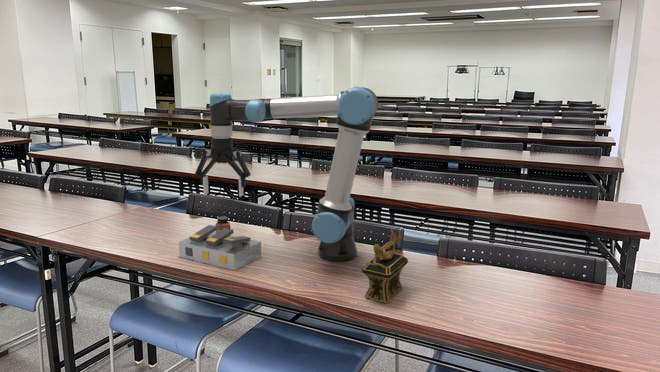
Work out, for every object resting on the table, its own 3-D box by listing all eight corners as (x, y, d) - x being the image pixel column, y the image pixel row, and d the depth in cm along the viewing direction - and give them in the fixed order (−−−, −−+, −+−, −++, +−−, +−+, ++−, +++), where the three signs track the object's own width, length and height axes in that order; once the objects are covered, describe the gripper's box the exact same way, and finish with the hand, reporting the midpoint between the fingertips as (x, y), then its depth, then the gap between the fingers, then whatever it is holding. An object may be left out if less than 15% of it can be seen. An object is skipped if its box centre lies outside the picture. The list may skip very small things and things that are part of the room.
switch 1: (217, 229, 182) (216, 226, 182) (198, 242, 173) (197, 238, 173) (209, 227, 184) (208, 224, 184) (189, 240, 175) (189, 236, 174)
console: (261, 256, 178) (261, 239, 176) (233, 270, 164) (233, 252, 162) (208, 244, 189) (208, 228, 188) (178, 257, 175) (177, 239, 174)
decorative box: (388, 307, 139) (391, 244, 135) (359, 299, 144) (361, 238, 140) (411, 284, 156) (415, 227, 152) (384, 277, 161) (387, 222, 157)
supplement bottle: (224, 240, 195) (224, 214, 192) (233, 244, 191) (233, 217, 188) (212, 244, 190) (212, 217, 188) (222, 247, 186) (221, 220, 184)
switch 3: (250, 241, 175) (250, 237, 175) (231, 244, 166) (232, 240, 165) (241, 239, 177) (242, 235, 177) (222, 242, 167) (223, 238, 167)
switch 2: (233, 232, 179) (233, 229, 178) (214, 245, 170) (214, 241, 169) (225, 231, 180) (224, 227, 180) (206, 243, 171) (205, 240, 171)
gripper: (258, 137, 170) (259, 194, 174) (193, 135, 173) (195, 190, 177) (252, 139, 162) (253, 198, 167) (184, 137, 166) (187, 195, 170)
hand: (223, 194), depth 172 cm, fingers open, 13 cm apart
